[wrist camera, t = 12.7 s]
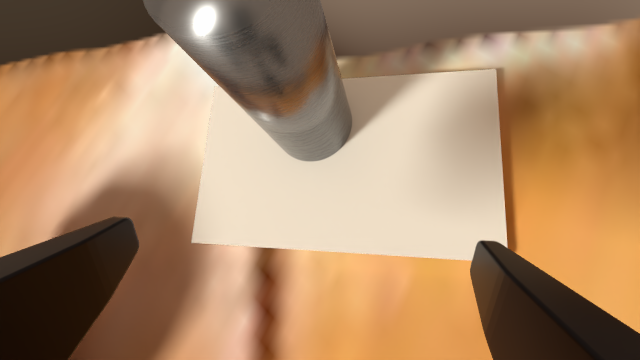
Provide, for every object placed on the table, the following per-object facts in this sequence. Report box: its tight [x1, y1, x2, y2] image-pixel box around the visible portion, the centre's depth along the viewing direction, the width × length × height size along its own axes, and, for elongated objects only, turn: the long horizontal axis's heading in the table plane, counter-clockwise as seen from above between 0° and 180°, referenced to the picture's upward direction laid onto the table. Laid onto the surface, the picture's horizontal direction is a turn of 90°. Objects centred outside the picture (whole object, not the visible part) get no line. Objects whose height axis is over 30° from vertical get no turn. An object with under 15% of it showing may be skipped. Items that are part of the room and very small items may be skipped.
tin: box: [143, 0, 352, 162], centre depth 16 cm, size 6×6×13 cm
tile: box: [191, 69, 508, 261], centre depth 22 cm, size 20×12×1 cm, turn 86°
